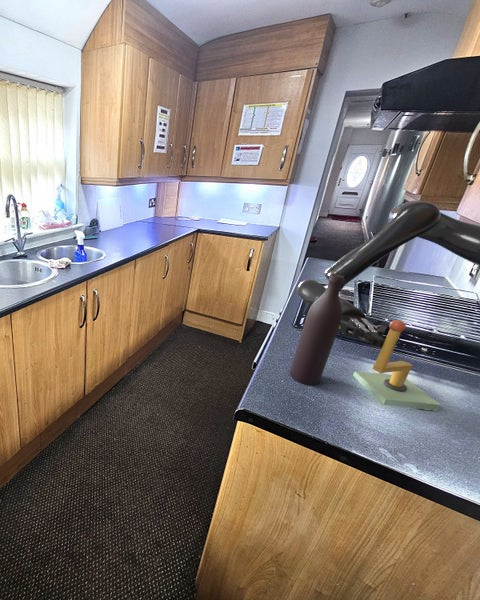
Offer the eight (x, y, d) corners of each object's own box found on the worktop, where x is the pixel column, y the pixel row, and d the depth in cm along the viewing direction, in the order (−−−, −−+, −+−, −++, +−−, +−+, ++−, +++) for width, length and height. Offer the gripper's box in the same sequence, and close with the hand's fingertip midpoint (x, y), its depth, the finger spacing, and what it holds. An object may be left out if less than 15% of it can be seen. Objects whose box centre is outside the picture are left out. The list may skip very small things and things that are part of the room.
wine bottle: (325, 385, 87) (364, 280, 75) (300, 387, 87) (335, 281, 75) (306, 369, 94) (339, 270, 82) (283, 371, 93) (312, 271, 81)
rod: (394, 380, 86) (424, 315, 78) (405, 386, 83) (437, 320, 76) (360, 384, 83) (388, 318, 76) (371, 391, 81) (401, 323, 74)
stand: (399, 381, 90) (403, 372, 89) (437, 411, 79) (442, 402, 78) (352, 377, 91) (355, 368, 90) (382, 405, 80) (386, 396, 79)
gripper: (320, 299, 94) (355, 327, 78) (371, 304, 92) (418, 333, 76) (312, 323, 97) (344, 353, 81) (361, 328, 95) (405, 360, 79)
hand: (380, 343), depth 79 cm, fingers closed
